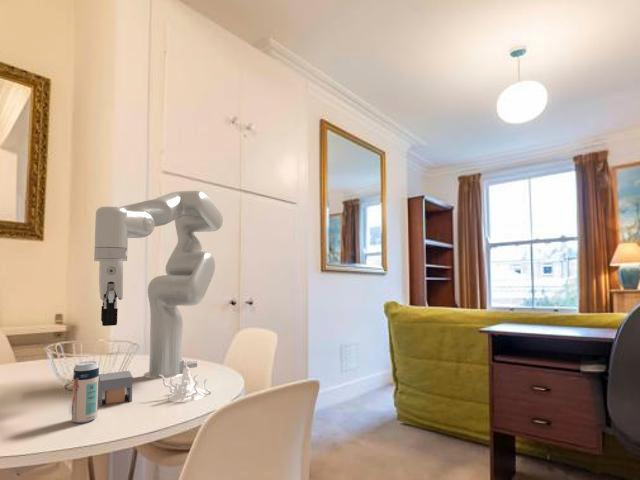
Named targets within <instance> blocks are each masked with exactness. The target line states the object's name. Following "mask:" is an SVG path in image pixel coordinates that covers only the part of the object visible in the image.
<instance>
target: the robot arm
mask: <svg viewBox="0 0 640 480" xmlns="http://www.w3.org/2000/svg"><path fill="white" fill-rule="evenodd" d="M94 221H95V224H94V225H95V226H94V228H95V230H94V250H93V251H94V254H93V256H94V259H93V261H94V262H99V266H98V267H99V270H98V273H99V274H98V286H99V289H98V290H99V297H100V300H101V301H102V305H101V311H100V312H101V314H100V315H101V317H100V321H101V324H102V327H110V326H117V325H118V300H120V301H122V300H123V299H124V293H123V292H124V291H123V290H124V263H123V262H127V261H128V242H129V239H143V238H147V237H148V236H150V235H151V234H152V233H153V232H154V229H155V228H156V227H161V226H166V225H168V224H170V223H172V222H173V221H174V225H175V231H176V235H177V243H176V245H175V247H174V249H173V251H172V252H171V254H170V256H169V258H168V260H167V262H166V265H165V275H164V274H162V275H159V276H156V277H154V278H152V279H151V281H149V284H148V285H147V297H148V302H149V308H150V309H149V311H150V323H149V324H150V331H149V361H148V362H149V365H148V366H149V369H148V371H147V372H145V373H144V374H143V378H144V377H145V378H147V379H163V378H162V377H161V376H159V375H162V376H164V378H165V379H169V378H170V379H171V378H176V377H179V376H180V377H181V376H183V369H184V368H185V360H183V359H182V358H183V322H184V320H183V316H182V313H181V312H180V310H179V308H178V306H186V307H189V306H190V307H191V306H192V307H193V306H197V305H199V304H200V303H201V302H202V301H203V300H204V297H205V295H206V293H207V291H208V289H209V286H210V284H211V282H212V279H213V276H214V275H215V268H216V262H215V257H214V255H212V253H210V252H207V251H202V243H201V241H200V239H199V238H198V237H197V236H196V234H195V233H202V232H203V233H205V232H206V233H209V232H217V231H219V230H220V229H221V228H222V226H223V222H224V221H223V215H222V212H221V210H220V209H219V208H218V207H217V205H216V204H215V203H214V202H213V200H212V199H211V198H210V197H209V195H207V194H206V193H204V192H203V191H201V190H180V191H172V192H169V193H167V194H164V195H161V196H158V197H156V198H152V199H148V200H147V199H146V200H144V201H140V202H136V203H130V204H126V205H123V206H119V207H117V206H101V207H99V208H97V209H96V211H95V220H94ZM186 362H187V367H189V369H193V368H194V369H195V368H197V367H198V362H197V360H196V361H191V360H189V361H187V360H186Z"/></svg>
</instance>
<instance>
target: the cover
mask: <svg viewBox="0 0 640 480" xmlns="http://www.w3.org/2000/svg"><path fill="white" fill-rule="evenodd" d="M122 388H125V391H126V392H125V394H126V396H127V399H128V401H129V403H132V402H133V375H132V373H131V372H130V370H124V371H116V372H108V373H101V374H100V373H99V378H98V407H100V408H101V407H103V392H105V391H108V390H115V389H122Z"/></svg>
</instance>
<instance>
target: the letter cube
mask: <svg viewBox="0 0 640 480" xmlns="http://www.w3.org/2000/svg"><path fill="white" fill-rule="evenodd" d="M125 391H126V388H122V389H115V390H108V391H104V401H105V405H108V404H114V403H120V402H121V403H122V402H125V400H126V399H125V398H126V397H125V394H126V392H125Z"/></svg>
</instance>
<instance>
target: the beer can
mask: <svg viewBox="0 0 640 480" xmlns="http://www.w3.org/2000/svg"><path fill="white" fill-rule="evenodd" d="M99 369H100V366H99V365H98V362H97V361H82V362H78V363H76V364H75V365H74V367H73V373H72V374H73V378H72V379H73V381H72V401H71V421H72V422H74V423H76V424H86V423H88V422H89V423H90V422H92V421H94V419H96V418H97V417H98V407H99V402H98V380H99V374H100V372H99V371H100V370H99Z"/></svg>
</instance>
